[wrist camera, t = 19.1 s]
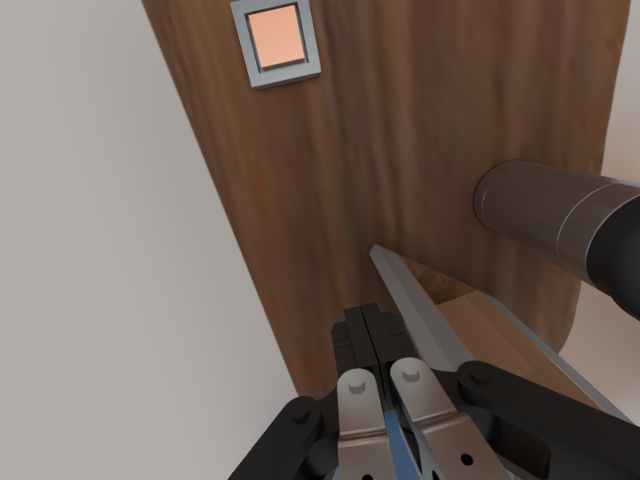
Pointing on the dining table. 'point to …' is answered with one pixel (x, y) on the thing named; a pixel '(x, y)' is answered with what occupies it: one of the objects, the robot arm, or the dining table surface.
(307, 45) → the button housing
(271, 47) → the button
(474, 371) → the robot arm
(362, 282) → the dining table surface
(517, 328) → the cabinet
